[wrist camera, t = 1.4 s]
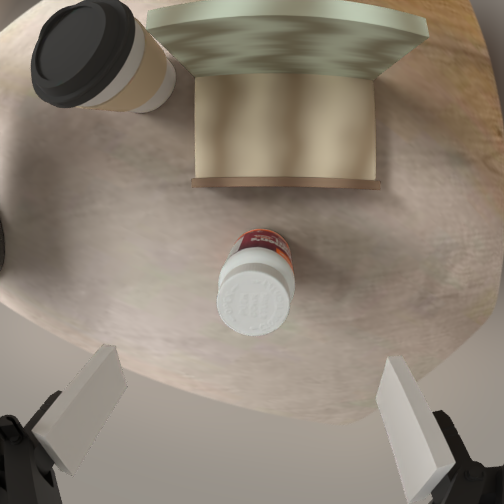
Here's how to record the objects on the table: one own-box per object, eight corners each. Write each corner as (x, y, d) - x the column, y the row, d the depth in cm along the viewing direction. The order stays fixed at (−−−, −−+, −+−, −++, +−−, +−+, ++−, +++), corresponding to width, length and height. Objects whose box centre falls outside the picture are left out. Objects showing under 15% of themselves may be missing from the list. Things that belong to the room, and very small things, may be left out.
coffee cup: (201, 90, 27) (140, 35, 12) (131, 139, 29) (35, 132, 14) (163, 33, 25) (95, -33, 10) (99, 81, 27) (8, 51, 12)
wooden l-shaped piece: (200, 184, 30) (143, 203, 16) (200, 69, 26) (147, 10, 13) (368, 186, 28) (437, 207, 15) (366, 72, 25) (425, 18, 11)
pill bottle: (301, 243, 31) (315, 286, 20) (274, 292, 32) (273, 354, 21) (246, 217, 30) (230, 247, 19) (222, 268, 32) (197, 321, 21)
